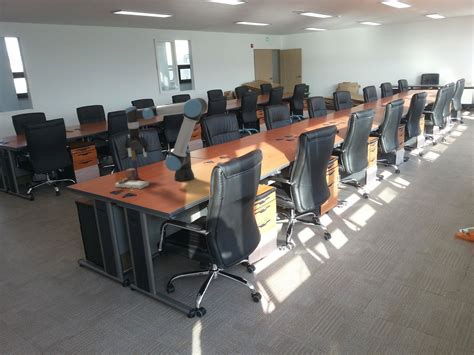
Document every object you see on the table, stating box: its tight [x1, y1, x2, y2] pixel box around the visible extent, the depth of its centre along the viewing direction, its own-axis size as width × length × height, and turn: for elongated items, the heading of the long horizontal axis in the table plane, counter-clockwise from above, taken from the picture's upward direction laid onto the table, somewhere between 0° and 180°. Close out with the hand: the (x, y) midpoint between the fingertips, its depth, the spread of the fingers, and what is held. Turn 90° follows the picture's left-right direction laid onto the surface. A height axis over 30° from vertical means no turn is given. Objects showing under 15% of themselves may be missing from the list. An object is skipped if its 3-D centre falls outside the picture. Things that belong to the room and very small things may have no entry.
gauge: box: [117, 167, 138, 184], centre depth 295 cm, size 17×5×10 cm, turn 158°
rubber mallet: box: [123, 141, 142, 179], centre depth 308 cm, size 12×8×30 cm, turn 153°
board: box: [114, 180, 149, 190], centre depth 291 cm, size 10×22×3 cm, turn 67°
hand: (137, 156), depth 294 cm, fingers open, 13 cm apart
